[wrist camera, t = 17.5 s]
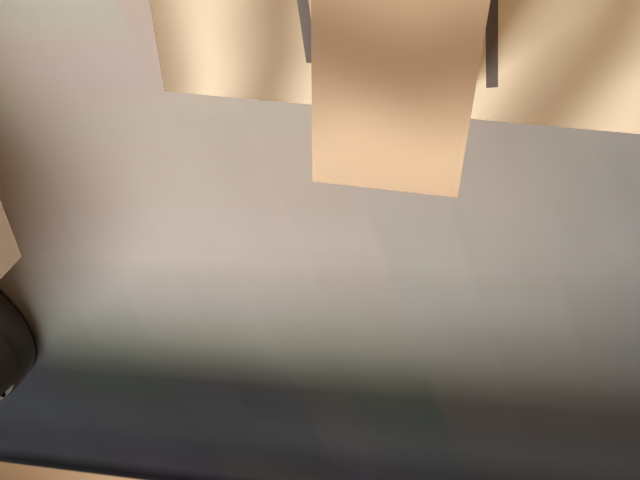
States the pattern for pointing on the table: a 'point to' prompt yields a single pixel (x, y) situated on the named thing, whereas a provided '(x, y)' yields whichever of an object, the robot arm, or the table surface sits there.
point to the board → (494, 70)
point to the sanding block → (394, 91)
